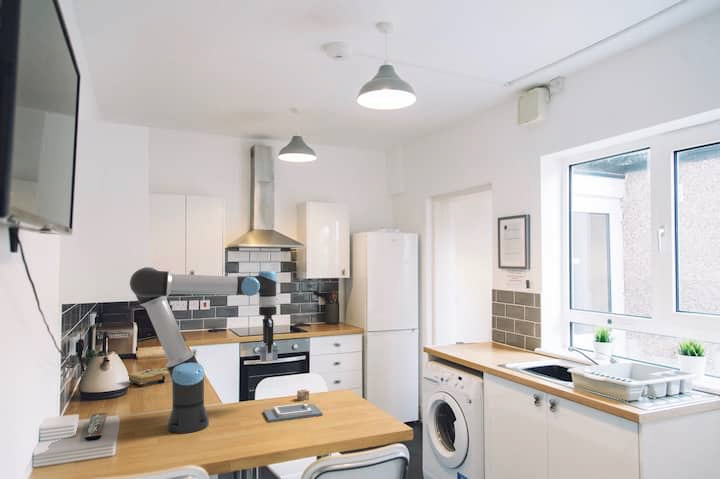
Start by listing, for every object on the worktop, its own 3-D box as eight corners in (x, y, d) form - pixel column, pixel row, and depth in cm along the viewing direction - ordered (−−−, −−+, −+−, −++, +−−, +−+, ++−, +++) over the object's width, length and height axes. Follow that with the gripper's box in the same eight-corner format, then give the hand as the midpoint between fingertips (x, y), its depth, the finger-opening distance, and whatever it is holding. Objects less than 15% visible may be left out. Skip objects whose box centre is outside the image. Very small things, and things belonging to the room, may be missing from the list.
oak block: (301, 401, 224) (301, 392, 224) (297, 399, 227) (297, 390, 227) (309, 400, 226) (309, 391, 226) (305, 398, 229) (304, 389, 229)
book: (171, 375, 281) (171, 364, 281) (185, 379, 269) (185, 368, 270) (126, 383, 262) (126, 372, 262) (140, 389, 251) (140, 377, 251)
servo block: (259, 362, 214) (258, 345, 214) (257, 360, 218) (257, 343, 218) (280, 359, 217) (279, 343, 217) (278, 358, 221) (278, 341, 221)
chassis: (268, 422, 195) (268, 416, 195) (263, 412, 208) (263, 406, 209) (322, 415, 203) (322, 410, 203) (314, 406, 216) (313, 401, 216)
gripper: (280, 307, 212) (280, 362, 211) (272, 304, 227) (273, 355, 227) (262, 308, 209) (263, 363, 208) (256, 304, 225) (256, 356, 224)
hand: (268, 359), depth 217 cm, fingers closed on servo block, 4 cm apart
